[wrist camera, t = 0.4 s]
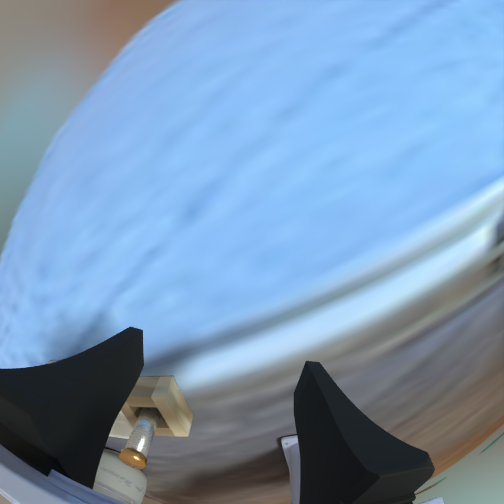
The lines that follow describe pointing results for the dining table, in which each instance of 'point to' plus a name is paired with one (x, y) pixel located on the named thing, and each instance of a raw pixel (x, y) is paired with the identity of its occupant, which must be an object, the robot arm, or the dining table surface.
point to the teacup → (119, 479)
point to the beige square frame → (160, 405)
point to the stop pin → (140, 438)
